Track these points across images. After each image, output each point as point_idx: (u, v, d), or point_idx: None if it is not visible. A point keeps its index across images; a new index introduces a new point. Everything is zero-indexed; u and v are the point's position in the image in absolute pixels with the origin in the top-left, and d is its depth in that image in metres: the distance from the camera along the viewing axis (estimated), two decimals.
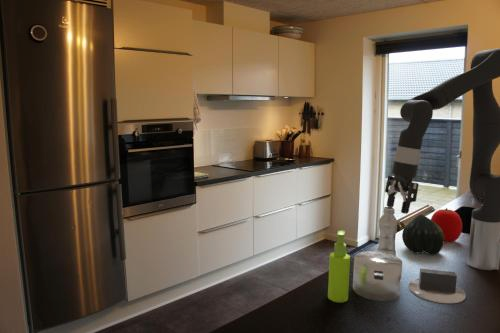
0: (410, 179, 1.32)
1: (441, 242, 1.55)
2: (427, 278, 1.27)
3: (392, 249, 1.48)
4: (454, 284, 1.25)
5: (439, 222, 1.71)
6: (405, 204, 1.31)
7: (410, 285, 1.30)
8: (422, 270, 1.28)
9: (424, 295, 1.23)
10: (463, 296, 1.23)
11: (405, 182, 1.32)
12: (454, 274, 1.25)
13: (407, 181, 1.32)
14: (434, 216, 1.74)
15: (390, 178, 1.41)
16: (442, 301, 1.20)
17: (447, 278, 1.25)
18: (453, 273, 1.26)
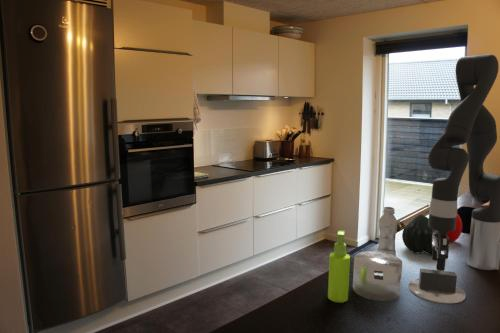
0: (444, 233, 1.21)
1: None
2: (427, 278, 1.27)
3: (392, 249, 1.48)
4: (454, 284, 1.25)
5: None
6: (439, 261, 1.22)
7: (410, 285, 1.30)
8: (422, 270, 1.28)
9: (424, 295, 1.23)
10: (463, 296, 1.23)
11: (438, 236, 1.22)
12: (454, 274, 1.25)
13: (440, 236, 1.22)
14: None
15: (434, 229, 1.31)
16: (442, 301, 1.20)
17: (447, 278, 1.25)
18: (453, 273, 1.26)
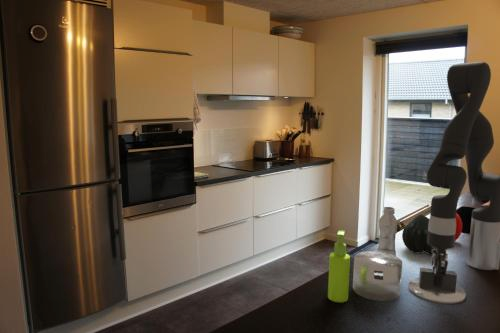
0: (442, 251, 1.22)
1: None
2: (427, 277, 1.26)
3: (392, 249, 1.48)
4: (454, 283, 1.25)
5: None
6: (436, 278, 1.25)
7: (410, 284, 1.30)
8: (422, 269, 1.28)
9: (424, 294, 1.23)
10: (463, 295, 1.23)
11: (437, 254, 1.23)
12: (454, 273, 1.25)
13: (439, 254, 1.22)
14: None
15: (433, 249, 1.31)
16: (442, 300, 1.20)
17: (447, 277, 1.25)
18: (453, 272, 1.26)
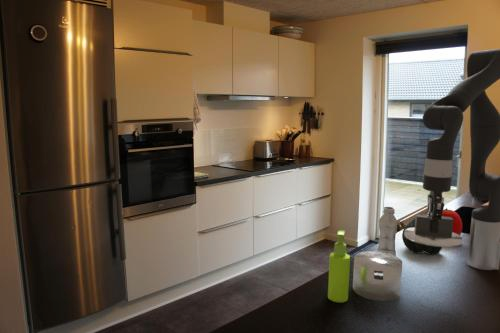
0: (439, 194, 1.19)
1: None
2: (423, 223, 1.24)
3: (392, 249, 1.48)
4: (450, 228, 1.22)
5: None
6: (432, 223, 1.22)
7: (405, 231, 1.27)
8: (418, 215, 1.25)
9: (420, 239, 1.20)
10: (459, 240, 1.20)
11: (433, 197, 1.20)
12: (450, 218, 1.22)
13: (435, 198, 1.19)
14: None
15: None
16: (438, 243, 1.17)
17: (443, 222, 1.22)
18: (449, 217, 1.23)
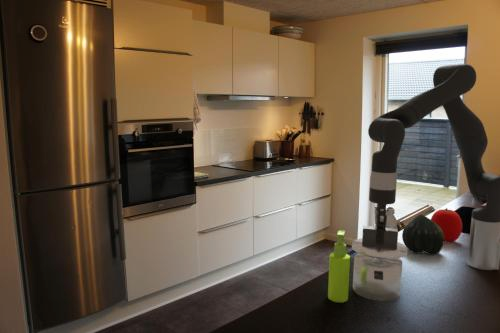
0: (382, 206, 1.20)
1: (441, 242, 1.55)
2: (369, 235, 1.25)
3: None
4: (395, 240, 1.23)
5: (439, 222, 1.71)
6: (377, 235, 1.23)
7: (353, 243, 1.28)
8: (364, 227, 1.26)
9: (364, 251, 1.21)
10: (404, 251, 1.21)
11: (378, 210, 1.21)
12: (396, 230, 1.23)
13: (379, 210, 1.20)
14: (434, 216, 1.74)
15: (377, 207, 1.29)
16: (381, 255, 1.18)
17: (388, 234, 1.23)
18: (395, 229, 1.24)
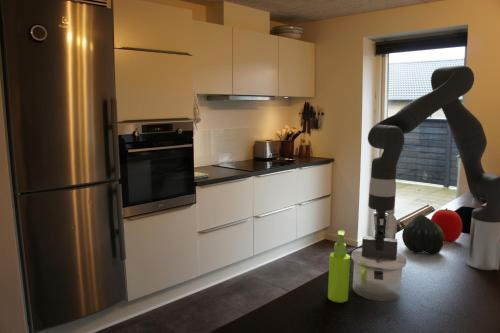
0: (382, 212, 1.20)
1: (441, 242, 1.55)
2: (368, 245, 1.25)
3: None
4: (395, 250, 1.23)
5: (439, 222, 1.71)
6: (377, 241, 1.21)
7: (353, 253, 1.28)
8: (364, 237, 1.26)
9: (364, 261, 1.22)
10: (403, 262, 1.21)
11: (377, 216, 1.21)
12: (395, 240, 1.24)
13: (378, 215, 1.21)
14: (434, 216, 1.74)
15: (377, 210, 1.30)
16: (380, 266, 1.19)
17: (388, 244, 1.23)
18: (394, 240, 1.25)
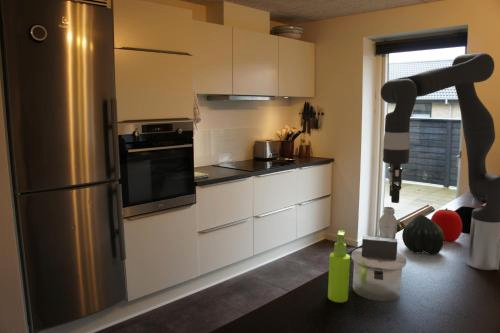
0: (397, 166, 1.22)
1: (441, 242, 1.55)
2: (368, 245, 1.25)
3: None
4: (395, 250, 1.23)
5: (439, 222, 1.71)
6: (393, 193, 1.23)
7: (353, 253, 1.28)
8: (364, 237, 1.26)
9: (364, 261, 1.22)
10: (403, 262, 1.22)
11: (392, 169, 1.23)
12: (395, 240, 1.24)
13: (393, 168, 1.22)
14: (434, 216, 1.74)
15: (391, 165, 1.32)
16: (380, 266, 1.19)
17: (388, 244, 1.23)
18: (394, 240, 1.25)
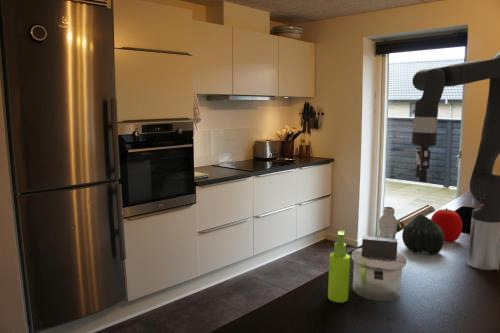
0: (425, 147, 1.33)
1: (441, 242, 1.55)
2: (368, 245, 1.25)
3: None
4: (395, 250, 1.23)
5: (439, 222, 1.71)
6: (421, 172, 1.34)
7: (353, 253, 1.28)
8: (364, 237, 1.26)
9: (364, 261, 1.22)
10: (403, 262, 1.22)
11: (420, 151, 1.34)
12: (395, 240, 1.24)
13: (422, 150, 1.34)
14: (434, 216, 1.74)
15: (418, 149, 1.43)
16: (380, 266, 1.19)
17: (388, 244, 1.23)
18: (394, 240, 1.25)
